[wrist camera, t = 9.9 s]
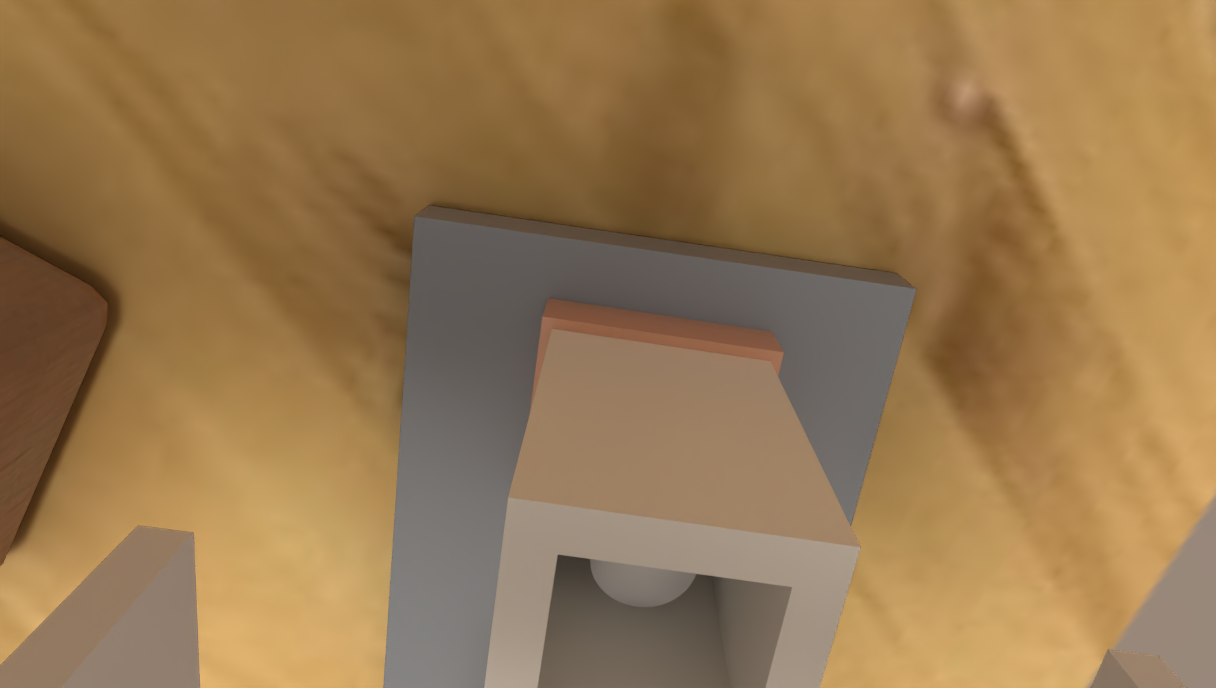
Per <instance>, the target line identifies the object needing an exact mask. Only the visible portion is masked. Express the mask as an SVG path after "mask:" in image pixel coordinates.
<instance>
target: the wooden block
mask: <svg viewBox="0 0 1216 688" xmlns="http://www.w3.org/2000/svg"><path fill="white" fill-rule="evenodd" d="M107 310H108V303H107V302H106V301H105V300H104V299H103V297H102V296H101V295H100V294H99V293H98V292H97V291H96V290H95V289H94V288H93V287H92V286H91V285H89V284H87V283H85V282H83V281H81V280H80V279H78V278H76V277H74V276H72V275H70V274H68V273H67V272H65V271H63V270H61V269H59V268H57V267H55V266H54V265H52V264H50V263H48V262H46V261H44V260H43V259H41V258H39V257H37V256H35V255H33V254H31V253H30V252H28V251H26V250H24V249H22V248H20V247H18V246H17V245H15V244H13V243H11V242H9V241H7V240H6V239H4V238H2V237H0V565H2V564H3V562H4V560H5V558H6V555H7V553H8V551H9V549H10V546H11V544H12V542H13V539H14V537H15V535H16V532H17V530H18V528H19V526H20V523H21V521H22V519H23V516H24V514H25V512H26V509H27V507H28V505H29V503H30V500H31V498H32V496H33V493H34V491H35V489H36V486H37V484H38V482H39V480H40V477H41V475H42V473H43V470H44V468H45V466H46V463H47V461H48V459H49V457H50V454H51V452H52V450H53V447H54V445H55V443H56V440H57V438H58V436H59V434H60V431H61V429H62V427H63V424H64V422H65V420H66V417H67V415H68V413H69V411H70V408H71V406H72V404H73V401H74V399H75V397H76V394H77V392H78V390H79V388H80V385H81V383H82V381H83V378H84V376H85V374H86V371H87V369H88V367H89V365H90V362H91V360H92V358H93V355H94V353H95V351H96V348H97V346H98V344H99V342H100V339H101V337H102V334H103V332H104V329H105V327H106V324H107Z"/></svg>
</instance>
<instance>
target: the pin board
mask: <svg viewBox="0 0 1216 688" xmlns="http://www.w3.org/2000/svg"><path fill="white" fill-rule="evenodd" d="M916 290H917V289H916V288H915V287H913V286H912V285H911V284H910V283H908V282H907V281H906V280H905V279H903V278H902V277H901V276H900V275H898V274H897V273H891V272H884V271H877V270H870V269H863V268H856V267H849V266H843V265H836V264H829V263H822V262H815V261H808V260H801V259H794V258H788V257H781V256H774V255H767V254H760V253H753V252H746V251H739V250H733V249H726V248H719V247H712V246H705V245H698V244H691V243H684V242H678V241H671V240H664V239H657V238H650V237H643V236H636V235H629V234H623V233H616V232H609V231H602V230H595V229H588V228H581V227H574V226H568V225H561V224H554V223H547V222H540V221H533V220H526V219H519V218H513V217H506V216H499V215H492V214H485V213H478V212H471V211H464V210H458V209H451V208H444V207H437V206H430V205H428V206H427V207H426V208H425V209H423V210H422V211H421V212H419V213H418V214H417V215H415V216H414V230H413V245H412V260H411V276H410V291H409V306H408V321H407V337H406V352H405V367H404V382H403V398H402V413H401V428H400V443H399V459H398V474H397V489H396V504H395V520H394V535H393V550H392V565H391V581H390V596H389V611H388V626H387V641H386V657H385V672H384V687H383V688H484V685H485V677H486V669H487V661H488V653H489V645H490V637H491V629H492V621H493V614H494V606H495V598H496V590H497V582H498V574H499V566H500V558H501V550H502V542H503V534H504V526H505V518H506V510H507V502H508V496H509V492H510V488H511V484H512V481H513V477H514V473H515V469H516V465H517V461H518V458H519V454H520V450H521V446H522V442H523V438H524V435H525V431H526V427H527V423H528V419H529V415H530V408H531V400H532V393H533V385H534V377H535V370H536V362H537V354H538V347H539V339H540V332H541V324H542V316H543V313H544V310H545V307H546V304H547V300H548V298H552V299H558V300H565V301H572V302H578V303H585V304H592V305H598V306H605V307H612V308H618V309H625V310H632V311H638V312H645V313H652V314H658V315H665V316H672V317H678V318H685V319H692V320H698V321H705V322H712V323H718V324H725V325H732V326H738V327H745V328H752V329H758V330H765V331H772V332H773V334H774V336H775V337H776V339H777V341H778V343H779V345H780V347H781V348H782V350H783V352H784V354H783V358H782V362H781V366H780V370H779V375H778V378H779V380H780V382H781V384H782V386H783V388H784V390H785V392H786V394H787V396H788V398H789V400H790V402H791V404H792V407H793V409H794V411H795V413H796V415H797V417H798V419H799V421H800V423H801V425H802V427H803V429H804V431H805V433H806V435H807V438H808V440H809V442H810V444H811V446H812V448H813V450H814V452H815V454H816V456H817V458H818V460H819V462H820V464H821V466H822V468H823V471H824V473H825V475H826V477H827V479H828V481H829V483H830V485H831V487H832V489H833V491H834V493H835V495H836V497H837V499H838V501H839V504H840V506H841V508H842V510H843V512H844V514H845V516H846V518H847V520H848V522H849V524H850V526H851V524H852V520H853V517H854V513H855V509H856V506H857V502H858V499H859V495H860V491H861V488H862V484H863V481H864V477H865V473H866V470H867V466H868V463H869V459H870V455H871V452H872V448H873V445H874V441H875V437H876V434H877V430H878V427H879V423H880V419H881V416H882V412H883V409H884V405H885V401H886V398H887V394H888V391H889V387H890V383H891V380H892V376H893V373H894V369H895V365H896V362H897V358H898V355H899V351H900V347H901V344H902V340H903V337H904V333H905V329H906V326H907V322H908V319H909V315H910V311H911V308H912V304H913V301H914V297H915V293H916ZM590 564H591V570H592V574H593V577H594V579H595V581H596V583H597V584H598V585H599V587H600V588H601V589H602V590H603V591H604V592H605V593H606V594H607V595H608V596H610V597H611V598H613V599H614V600H616V601H618V602H620V603H623V604H626V605H629V606H634V607H654V606H659V605H663V604H666V603H668V602H670V601H672V600H674V599H676V598H677V597H679V596H680V595H682V594H683V593H684V592H685V591H686V590H687V589H688V588H689V586H690V585H691V583H692V582H693V580H694V578H695V576H696V574H695V573H687V572H680V571H673V570H666V569H659V568H652V567H644V566H637V565H630V564H623V563H616V562H609V561H601V560H594V559H590Z"/></svg>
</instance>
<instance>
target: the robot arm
mask: <svg viewBox="0 0 1216 688" xmlns="http://www.w3.org/2000/svg"><path fill="white" fill-rule="evenodd" d="M0 688H200V674H199V649H198V625H197V600H196V576H195V551H194V532H186V531H178V530H170V529H162V528H155V527H147V526H139V525H138V526H137V527H136V528H135V529H134V530H133V531H132V532H131V533H130V534H129V535H128V536H127V537H126V538H125V539H124V540H123V541H122V542H121V543H120V544H119V545H118V546H117V547H116V548H115V549H114V550H113V551H112V552H111V553H110V554H109V555H108V556H107V557H106V558H105V559H104V560H103V561H102V562H101V563H100V564H99V566H98V567H97V568H96V569H95V570H94V571H93V572H92V573H91V574H90V575H89V576H88V577H87V578H86V579H85V580H84V581H83V582H82V583H81V584H80V585H79V586H78V587H77V588H76V589H75V590H74V591H73V592H72V593H71V594H70V595H69V596H68V597H67V598H66V599H65V600H64V601H63V602H62V603H61V604H60V605H59V606H58V607H57V608H56V609H55V610H54V611H53V612H52V613H51V614H50V615H49V616H48V617H47V618H46V619H45V620H44V621H43V622H42V623H41V624H40V625H39V627H38V628H37V629H36V630H35V631H34V632H33V633H32V634H31V635H30V636H29V637H28V638H27V639H26V640H25V641H24V642H23V643H22V644H21V645H20V646H19V647H18V648H17V649H16V650H15V651H14V652H13V653H12V654H11V655H10V656H9V657H8V658H7V659H6V660H5V661H4V662H3V663H2V664H1V665H0ZM1091 688H1186V687H1185V685H1184V684H1183V683H1182V682H1181V681H1180V679H1179V678H1178V677H1177V676H1176V675H1175V674H1174V673H1173V671H1172V670H1171V669H1170V668H1169V667H1168V666H1167V665H1166V663H1164V661H1163V660H1162V659H1161V658H1160V656H1157V655H1149V654H1141V653H1133V652H1125V651H1118V650H1110V649H1108V650H1107V652H1106V655H1105V657H1104V659H1103V661H1102V664H1101V666H1100V668H1099V670H1098V673H1097V675H1096V677H1095V679H1094V681H1093V684H1092V686H1091Z"/></svg>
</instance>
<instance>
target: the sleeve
mask: <svg viewBox="0 0 1216 688" xmlns="http://www.w3.org/2000/svg"><path fill="white" fill-rule="evenodd" d="M783 354H784V352H783V350H782V348H781V347H780V345H779V343H778V341H777V339H776V337H775V336H774V334H773V332H772V331H765V330H758V329H752V328H745V327H738V326H732V325H725V324H718V323H712V322H705V321H698V320H692V319H685V318H678V317H672V316H665V315H658V314H652V313H645V312H638V311H632V310H625V309H618V308H612V307H605V306H598V305H592V304H585V303H578V302H572V301H565V300H558V299H552V298H548V300H547V304H546V307H545V310H544V313H543V316H542V324H541V332H540V339H539V347H538V354H537V362H536V370H535V377H534V385H533V393H532V400H531V408H530V415H529V419H528V423H527V427H526V431H525V435H524V438H523V442H522V446H521V450H520V454H519V458H518V461H517V465H516V469H515V473H514V477H513V481H512V484H511V488H510V492H509V496H508V502H507V510H506V518H505V526H504V534H503V542H502V550H501V558H500V566H499V574H498V582H497V590H496V598H495V606H494V614H493V621H492V629H491V637H490V645H489V653H488V661H487V669H486V677H485V685H484V688H820V684H821V681H822V677H823V674H824V671H825V667H826V664H827V661H828V657H829V654H830V650H831V647H832V644H833V640H834V637H835V633H836V630H837V627H838V623H839V620H840V616H841V613H842V610H843V606H844V603H845V599H846V596H847V593H848V589H849V586H850V582H851V579H852V576H853V572H854V569H855V565H856V562H857V559H858V555H859V552H860V548H861V547H860V545H859V543H858V541H857V539H856V537H855V534H854V532H853V530H852V528H851V526H850V524H849V522H848V520H847V518H846V516H845V514H844V512H843V510H842V508H841V506H840V504H839V501H838V499H837V497H836V495H835V493H834V491H833V489H832V487H831V485H830V483H829V481H828V479H827V477H826V475H825V473H824V471H823V468H822V466H821V464H820V462H819V460H818V458H817V456H816V454H815V452H814V450H813V448H812V446H811V444H810V442H809V440H808V438H807V435H806V433H805V431H804V429H803V427H802V425H801V423H800V421H799V419H798V417H797V415H796V413H795V411H794V409H793V407H792V404H791V402H790V400H789V398H788V396H787V394H786V392H785V390H784V388H783V386H782V384H781V382H780V380H779V378H778V375H779V370H780V366H781V362H782V358H783ZM590 559H594V560H601V561H609V562H616V563H623V564H630V565H637V566H644V567H652V568H659V569H666V570H673V571H680V572H687V573H695V574H696V576H695V578H694V580H693V582H692V583H691V585H690V586H689V588H688V589H687V590H686V591H685V592H684V593H683V594H682V595H680V596H679V597H677V598H676V599H674V600H672V601H670V602H668V603H666V604H663V605H659V606H654V607H634V606H629V605H626V604H623V603H620V602H618V601H616V600H614V599H613V598H611V597H610V596H608V595H607V594H606V593H605V592H604V591H603V590H602V589H601V588H600V587H599V585H598V584H597V583H596V581H595V579H594V577H593V574H592V570H591V564H590Z"/></svg>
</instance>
